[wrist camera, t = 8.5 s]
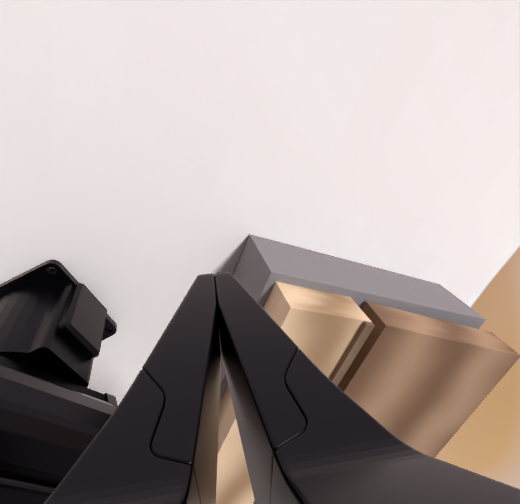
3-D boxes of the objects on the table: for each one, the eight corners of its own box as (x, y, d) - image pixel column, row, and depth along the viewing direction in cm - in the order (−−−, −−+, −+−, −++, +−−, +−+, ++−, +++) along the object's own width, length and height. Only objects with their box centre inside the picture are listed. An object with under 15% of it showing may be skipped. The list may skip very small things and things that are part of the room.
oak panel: (187, 471, 25) (190, 513, 23) (275, 281, 19) (292, 311, 17) (252, 469, 28) (262, 506, 25) (350, 297, 22) (374, 325, 19)
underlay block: (174, 417, 30) (178, 476, 25) (249, 234, 23) (271, 272, 19) (348, 421, 37) (373, 467, 33) (439, 284, 31) (485, 319, 27)
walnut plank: (266, 469, 28) (273, 502, 26) (365, 300, 22) (386, 325, 20) (381, 473, 32) (396, 502, 30) (492, 332, 26) (520, 356, 24)
